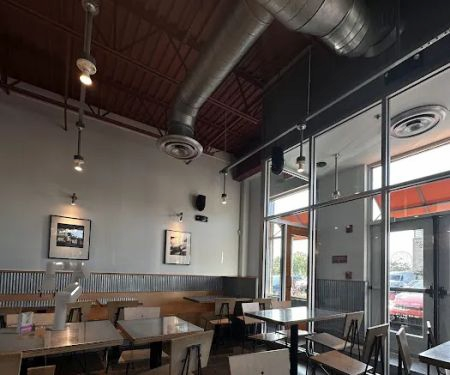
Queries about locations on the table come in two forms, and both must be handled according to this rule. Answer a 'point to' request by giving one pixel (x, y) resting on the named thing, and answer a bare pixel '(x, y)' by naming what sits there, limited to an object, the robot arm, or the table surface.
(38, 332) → the collar
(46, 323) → the table surface
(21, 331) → the candy bar box
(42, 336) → the post board
